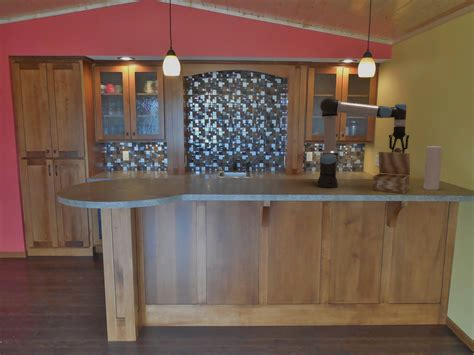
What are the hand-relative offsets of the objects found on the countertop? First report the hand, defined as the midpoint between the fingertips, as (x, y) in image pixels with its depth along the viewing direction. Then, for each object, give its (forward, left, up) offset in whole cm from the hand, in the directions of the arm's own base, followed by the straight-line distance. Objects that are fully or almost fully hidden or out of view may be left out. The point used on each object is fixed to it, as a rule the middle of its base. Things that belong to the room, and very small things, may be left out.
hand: (397, 158), depth 249 cm
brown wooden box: (0, -16, -20) cm, 26 cm away
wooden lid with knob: (0, -11, -2) cm, 11 cm away
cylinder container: (+22, +5, -21) cm, 31 cm away
